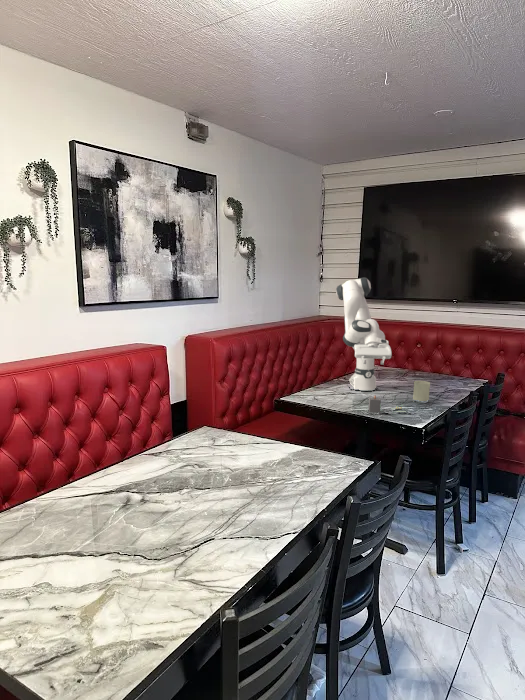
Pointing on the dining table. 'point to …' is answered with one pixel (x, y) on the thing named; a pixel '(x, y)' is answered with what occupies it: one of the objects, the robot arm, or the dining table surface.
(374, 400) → the block
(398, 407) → the circuit board
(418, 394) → the can
